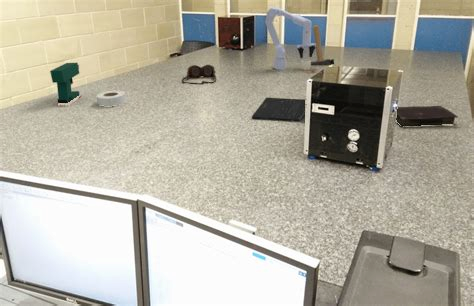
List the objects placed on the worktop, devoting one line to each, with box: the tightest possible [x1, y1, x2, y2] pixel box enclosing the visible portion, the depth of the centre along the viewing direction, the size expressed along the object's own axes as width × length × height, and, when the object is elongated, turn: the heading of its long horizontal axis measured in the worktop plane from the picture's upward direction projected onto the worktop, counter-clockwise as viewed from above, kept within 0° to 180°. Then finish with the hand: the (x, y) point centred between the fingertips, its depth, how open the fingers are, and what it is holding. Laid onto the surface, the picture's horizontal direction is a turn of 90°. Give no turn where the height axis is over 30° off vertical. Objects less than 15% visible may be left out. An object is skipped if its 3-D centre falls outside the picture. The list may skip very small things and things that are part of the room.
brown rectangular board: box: [296, 66, 321, 75], centre depth 284 cm, size 18×12×4 cm, turn 23°
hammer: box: [311, 25, 335, 67], centre depth 295 cm, size 20×5×30 cm, turn 79°
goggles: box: [181, 64, 217, 85], centre depth 270 cm, size 24×24×10 cm
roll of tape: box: [96, 90, 127, 106], centre depth 227 cm, size 16×16×6 cm
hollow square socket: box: [300, 59, 312, 70], centre depth 287 cm, size 5×5×6 cm
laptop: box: [251, 97, 306, 122], centre depth 202 cm, size 33×38×19 cm
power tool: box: [49, 62, 81, 104], centre depth 236 cm, size 32×7×20 cm, turn 178°
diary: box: [396, 105, 459, 128], centre depth 187 cm, size 19×25×5 cm
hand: (306, 57), depth 285 cm, fingers open, 7 cm apart
